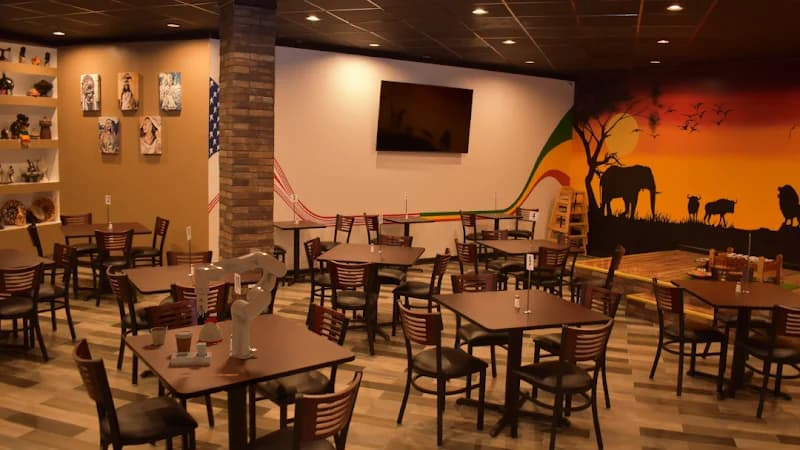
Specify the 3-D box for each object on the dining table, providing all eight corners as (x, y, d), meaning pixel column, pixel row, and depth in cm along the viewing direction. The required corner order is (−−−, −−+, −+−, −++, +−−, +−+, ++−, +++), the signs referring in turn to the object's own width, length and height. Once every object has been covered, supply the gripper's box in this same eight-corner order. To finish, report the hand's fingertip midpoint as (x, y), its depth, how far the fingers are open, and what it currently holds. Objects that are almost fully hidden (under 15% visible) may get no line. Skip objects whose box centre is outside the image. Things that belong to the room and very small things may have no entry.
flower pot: (170, 341, 400) (170, 327, 400) (162, 346, 391) (163, 331, 390) (154, 340, 401) (154, 326, 400) (147, 345, 392) (147, 330, 391)
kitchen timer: (218, 344, 399) (219, 319, 398) (195, 343, 399) (195, 318, 398) (225, 338, 413) (225, 314, 411) (202, 337, 413) (203, 313, 412)
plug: (205, 360, 365) (205, 342, 364) (205, 363, 361) (205, 344, 360) (196, 360, 364) (197, 342, 363) (196, 363, 360) (196, 344, 359)
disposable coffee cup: (174, 356, 373) (174, 335, 372) (175, 351, 383) (175, 330, 381) (192, 355, 376) (192, 334, 375) (192, 350, 385) (193, 330, 384)
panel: (211, 360, 369) (211, 351, 368) (210, 366, 359) (210, 357, 359) (173, 361, 365) (173, 352, 364) (171, 367, 355) (171, 358, 355)
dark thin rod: (206, 366, 359) (206, 364, 358) (206, 367, 358) (206, 365, 358) (177, 369, 353) (177, 367, 353) (177, 369, 352) (177, 367, 352)
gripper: (208, 294, 351) (207, 326, 353) (210, 287, 368) (210, 318, 370) (192, 294, 350) (192, 326, 352) (196, 287, 367) (195, 318, 369)
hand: (201, 322), depth 361 cm, fingers open, 9 cm apart
